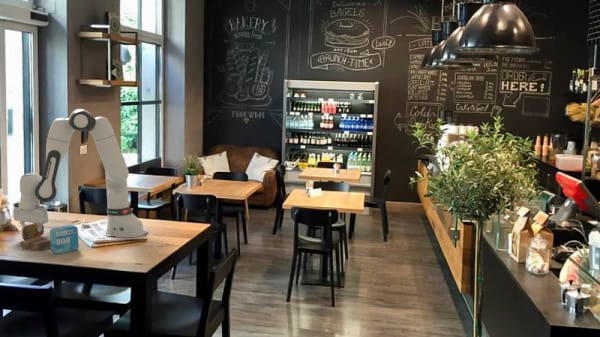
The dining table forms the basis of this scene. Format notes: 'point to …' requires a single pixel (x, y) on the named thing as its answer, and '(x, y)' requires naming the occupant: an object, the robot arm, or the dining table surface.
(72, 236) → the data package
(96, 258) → the dining table surface
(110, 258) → the dining table surface
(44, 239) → the walnut block
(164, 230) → the dining table surface
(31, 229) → the tin
